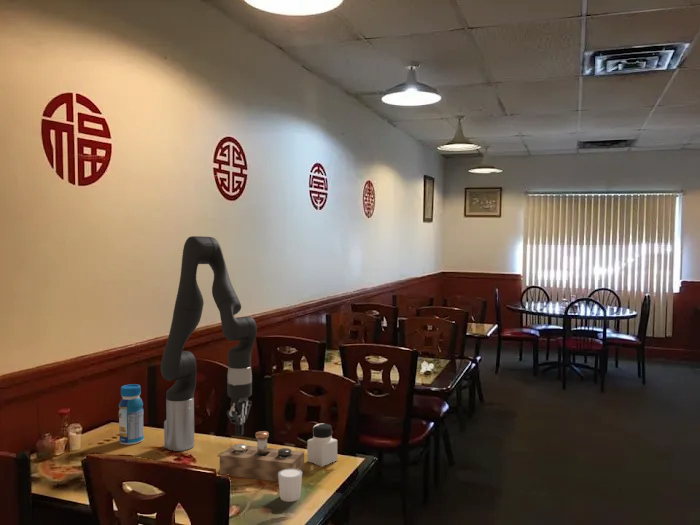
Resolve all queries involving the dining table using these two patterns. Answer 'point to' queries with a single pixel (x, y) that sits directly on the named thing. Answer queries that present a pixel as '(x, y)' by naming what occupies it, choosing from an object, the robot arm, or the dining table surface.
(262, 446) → the copper-capped glass cylinder
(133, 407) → the beverage bottle
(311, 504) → the dining table surface
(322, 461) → the medicine bottle
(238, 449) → the cream plunger
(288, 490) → the white cup
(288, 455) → the grey capped glass jar
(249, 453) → the walnut block
